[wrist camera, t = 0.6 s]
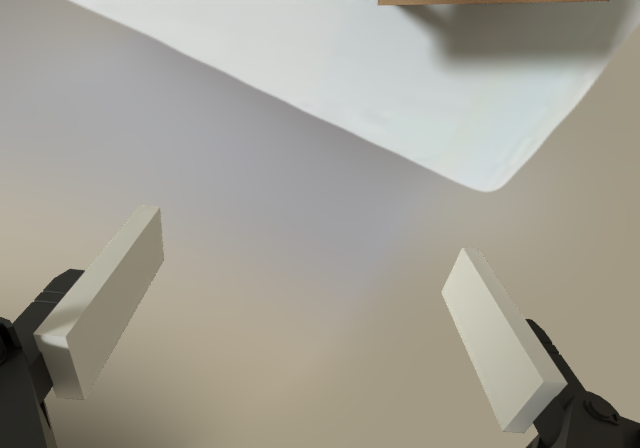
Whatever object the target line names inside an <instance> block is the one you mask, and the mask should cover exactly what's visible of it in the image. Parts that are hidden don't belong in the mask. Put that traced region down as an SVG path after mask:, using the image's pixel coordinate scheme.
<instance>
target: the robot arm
mask: <svg viewBox="0 0 640 448" xmlns="http://www.w3.org/2000/svg"><path fill="white" fill-rule="evenodd" d="M163 261H164V253H163V241H162V228H161V216H160V207H154V206H146V205H140V206H139V207H138V208H137V209H136V211H135V212H134V213H133V215H131V217H130V218H129V219H128V220H127V221H126V223H125V224H124V225H123V226H122V228H121V229H120V230H119V231H118V232H117V234H116V235H115V236H114V237H113V238H112V240H111V241H110V242H109V243H108V244H107V246H106V247H105V248H104V249H103V250H102V252H101V253H100V254H99V255H98V256H97V258H96V259H95V260H94V261H93V262H92V264H91V265H90V266H89V267H88V268H87V270H86V271H85V270H76V269H69V270H67V271H66V272H64V273H62V274H61V275H59V276H58V277H56V278H54V279H53V280H52V281H51V282H50V283H49V285H48V286H47V287H46V288H45V289H44V290H43V292H41V293H40V294H39V295H38V296H37V298H36V299H35V301H34V302H32V303H31V304H30V305H29V306H28V307H27V308H26V310H25V311H24V312H23V313H22V314H21V315H20V316H19V317H18V318H17V319H16V321H14V323H13V324H12V323H11V322H10V320H7V319H5V318H2V317H0V448H57V445H56V441H55V438H54V434H53V430H52V426H51V422H50V419H49V415H48V411H47V408H46V404H45V401H44V399H45V397H46V395H47V394H48V392H49V391H50V390H51V388H52V387H53V389H54V391H55V394H56V397H57V398H64V399H77V400H85V399H86V397H87V395H88V393H89V392H90V390H91V388H92V386H93V385H94V383H95V381H96V379H97V378H98V376H99V374H100V372H101V370H102V369H103V367H104V365H105V363H106V362H107V360H108V358H109V356H110V355H111V353H112V351H113V349H114V348H115V346H116V344H117V342H118V340H119V339H120V337H121V335H122V333H123V332H124V330H125V328H126V326H127V325H128V323H129V321H130V319H131V317H132V316H133V314H134V312H135V310H136V309H137V307H138V305H139V303H140V301H141V300H142V298H143V296H144V294H145V293H146V291H147V289H148V287H149V286H150V284H151V282H152V280H153V278H154V277H155V275H156V273H157V271H158V270H159V268H160V266H161V264H162V263H163ZM441 293H442V295H443V297H444V299H445V302H446V304H447V306H448V309H449V311H450V313H451V315H452V318H453V320H454V322H455V324H456V327H457V329H458V331H459V334H460V336H461V338H462V340H463V343H464V345H465V347H466V349H467V352H468V354H469V356H470V359H471V361H472V363H473V365H474V368H475V370H476V372H477V375H478V377H479V379H480V381H481V383H482V386H483V388H484V390H485V393H486V395H487V397H488V399H489V402H490V404H491V406H492V409H493V411H494V413H495V415H496V418H497V420H498V422H499V425H500V427H501V429H502V431H503V432H514V433H525V432H526V431H527V429H528V428H529V427H530V426H531V425H532V424H534V425H535V427H536V429H537V431H538V433H539V434H538V435H537V436H536V437H535V438H534V439H533V441H531V443H530V444H529V445H528V446H527V447H526V448H640V423H637V422H635V421H632V420H629V419H627V418H624V417H621V416H620V415H619V414H618V412H617V411H616V410H615V409H614V408H613V406H611V404H610V403H608V402H607V401H606V400H604V399H603V398H602V397H600V396H598V395H596V394H594V393H592V392H588V391H586V390H585V389H584V387H583V386H582V384H581V383H580V382H579V380H578V379H577V377H576V376H575V375H574V373H573V372H572V370H571V369H570V367H569V366H568V364H567V363H566V362H565V360H564V359H563V357H562V356H561V355H559V351H558V350H557V349H556V347H555V346H554V345H552V342H551V340H550V339H549V337H548V336H547V335H546V333H545V332H544V330H542V328H540V327H539V326H538V325H537V324H536V323H535V322H534V321H533V320H530V319H525V318H524V317H523V315H522V314H521V312H520V311H519V309H518V308H517V306H516V305H515V303H514V302H513V300H512V299H511V297H510V296H509V294H508V293H507V291H506V290H505V288H504V287H503V285H502V284H501V283H500V281H499V279H498V278H497V276H496V275H495V273H494V272H493V270H492V269H491V267H490V266H489V264H488V263H487V261H486V260H485V258H484V256H483V255H482V253H481V252H480V250H479V249H473V248H464V247H462V250H461V252H460V254H459V256H458V258H457V260H456V262H455V265H454V267H453V269H452V271H451V273H450V275H449V277H448V279H447V282H446V284H445V286H444V288H443V290H442V292H441Z"/></svg>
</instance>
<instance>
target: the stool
mask: <svg viewBox="0 0 640 448" xmlns="http://www.w3.org/2000/svg"><path fill="white" fill-rule="evenodd" d="M584 1H609V0H378V5H426V4H478V3H531V2H584Z"/></svg>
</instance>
